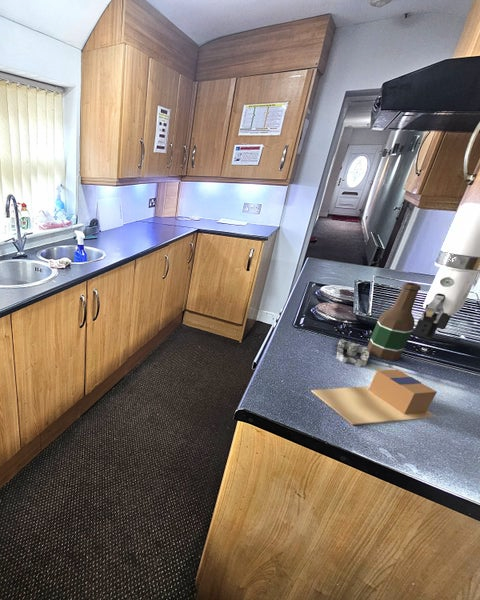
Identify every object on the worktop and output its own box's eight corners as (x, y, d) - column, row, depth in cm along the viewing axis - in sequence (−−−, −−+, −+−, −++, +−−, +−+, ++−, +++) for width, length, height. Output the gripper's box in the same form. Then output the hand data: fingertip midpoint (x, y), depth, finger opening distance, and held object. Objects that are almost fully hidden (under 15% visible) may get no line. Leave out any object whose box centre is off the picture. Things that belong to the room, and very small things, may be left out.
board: (385, 385, 87) (386, 384, 87) (436, 418, 76) (436, 416, 76) (311, 391, 84) (311, 390, 84) (352, 425, 73) (353, 423, 73)
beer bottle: (368, 347, 105) (396, 277, 96) (400, 357, 100) (433, 284, 90) (362, 356, 101) (391, 283, 91) (395, 367, 95) (430, 291, 86)
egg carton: (364, 371, 93) (369, 359, 91) (332, 361, 98) (336, 350, 96) (366, 355, 100) (371, 344, 99) (337, 347, 105) (341, 336, 103)
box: (388, 388, 85) (397, 369, 83) (426, 412, 77) (437, 391, 75) (368, 390, 85) (376, 370, 82) (404, 414, 76) (414, 393, 74)
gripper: (477, 272, 63) (439, 348, 70) (496, 260, 72) (461, 329, 78) (425, 262, 69) (394, 334, 76) (448, 253, 78) (419, 317, 84)
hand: (428, 331), depth 77 cm, fingers open, 9 cm apart
